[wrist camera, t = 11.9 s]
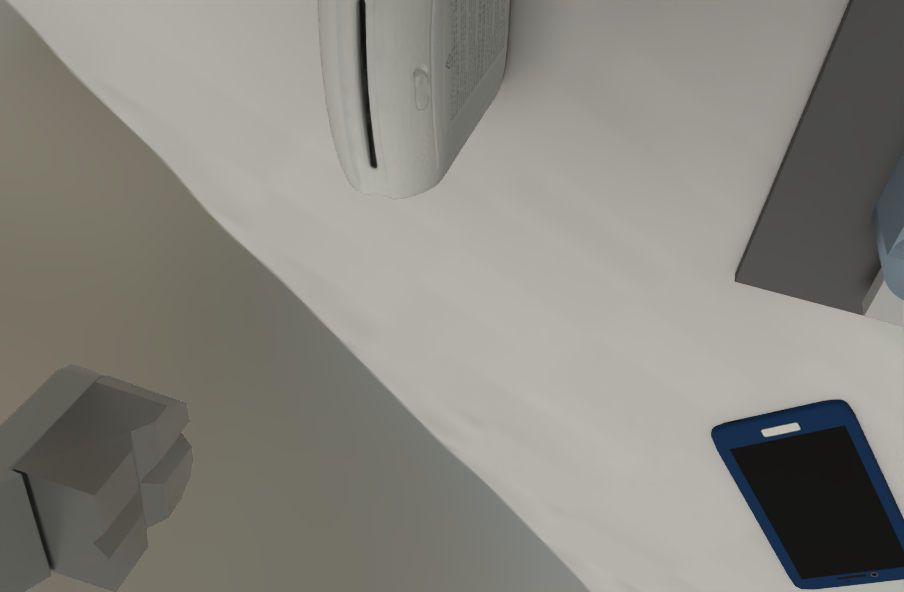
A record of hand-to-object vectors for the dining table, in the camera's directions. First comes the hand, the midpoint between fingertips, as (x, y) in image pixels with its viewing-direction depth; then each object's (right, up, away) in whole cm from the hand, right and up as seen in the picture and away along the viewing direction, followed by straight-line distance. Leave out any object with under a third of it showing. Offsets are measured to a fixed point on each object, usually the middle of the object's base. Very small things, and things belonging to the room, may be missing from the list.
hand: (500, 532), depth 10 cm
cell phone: (+20, -8, +37) cm, 43 cm away
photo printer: (0, +16, +26) cm, 31 cm away
